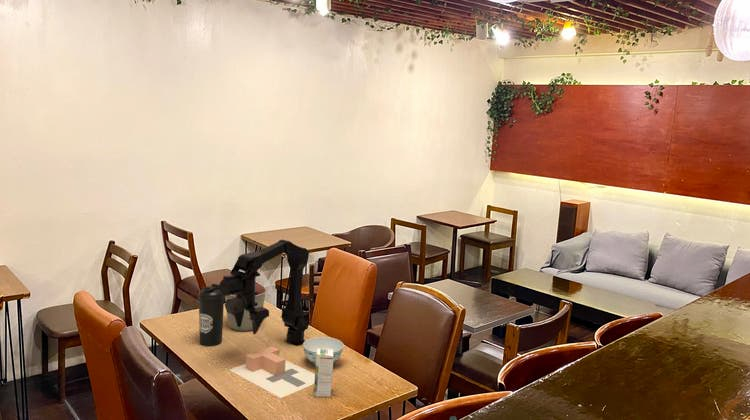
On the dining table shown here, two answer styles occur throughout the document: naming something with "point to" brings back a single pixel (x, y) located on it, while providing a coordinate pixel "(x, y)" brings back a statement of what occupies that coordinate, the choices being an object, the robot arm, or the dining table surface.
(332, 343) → the chinaware
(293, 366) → the mat
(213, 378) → the dining table surface
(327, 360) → the syrup box
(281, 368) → the t block
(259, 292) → the canister
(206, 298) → the water bottle
